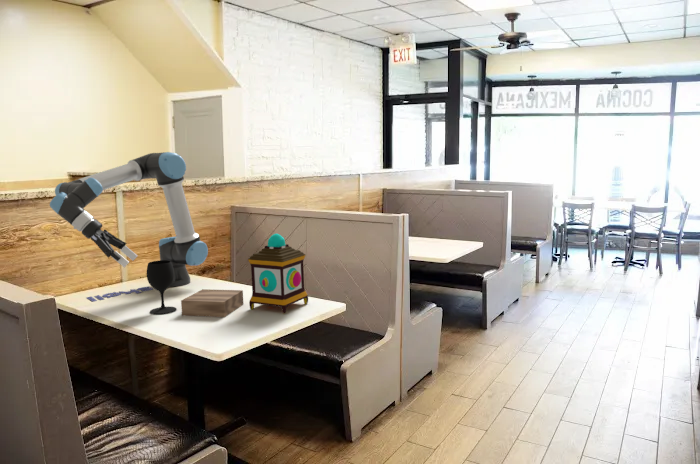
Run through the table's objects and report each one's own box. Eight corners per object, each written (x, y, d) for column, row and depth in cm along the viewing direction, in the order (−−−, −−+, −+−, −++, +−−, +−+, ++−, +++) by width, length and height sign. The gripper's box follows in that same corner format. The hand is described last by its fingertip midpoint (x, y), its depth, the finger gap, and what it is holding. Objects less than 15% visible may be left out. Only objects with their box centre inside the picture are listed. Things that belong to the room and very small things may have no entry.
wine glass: (165, 315, 214) (162, 265, 212) (144, 313, 218) (140, 264, 215) (182, 308, 224) (178, 260, 221) (160, 306, 227) (157, 259, 225)
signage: (148, 285, 264) (156, 289, 257) (148, 287, 264) (156, 290, 257) (85, 296, 246) (92, 300, 238) (85, 298, 246) (92, 302, 239)
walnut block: (203, 303, 231) (202, 289, 230) (243, 304, 228) (242, 290, 227) (182, 315, 214) (181, 300, 213) (225, 317, 210) (224, 301, 209)
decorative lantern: (244, 310, 219) (240, 235, 215) (273, 298, 237) (270, 229, 232) (286, 315, 210) (282, 238, 206) (313, 302, 227) (310, 231, 223)
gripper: (91, 228, 225) (132, 262, 229) (69, 237, 200) (116, 275, 204) (104, 215, 225) (144, 249, 229) (83, 222, 200) (129, 260, 204)
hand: (131, 261), depth 217 cm, fingers open, 13 cm apart
